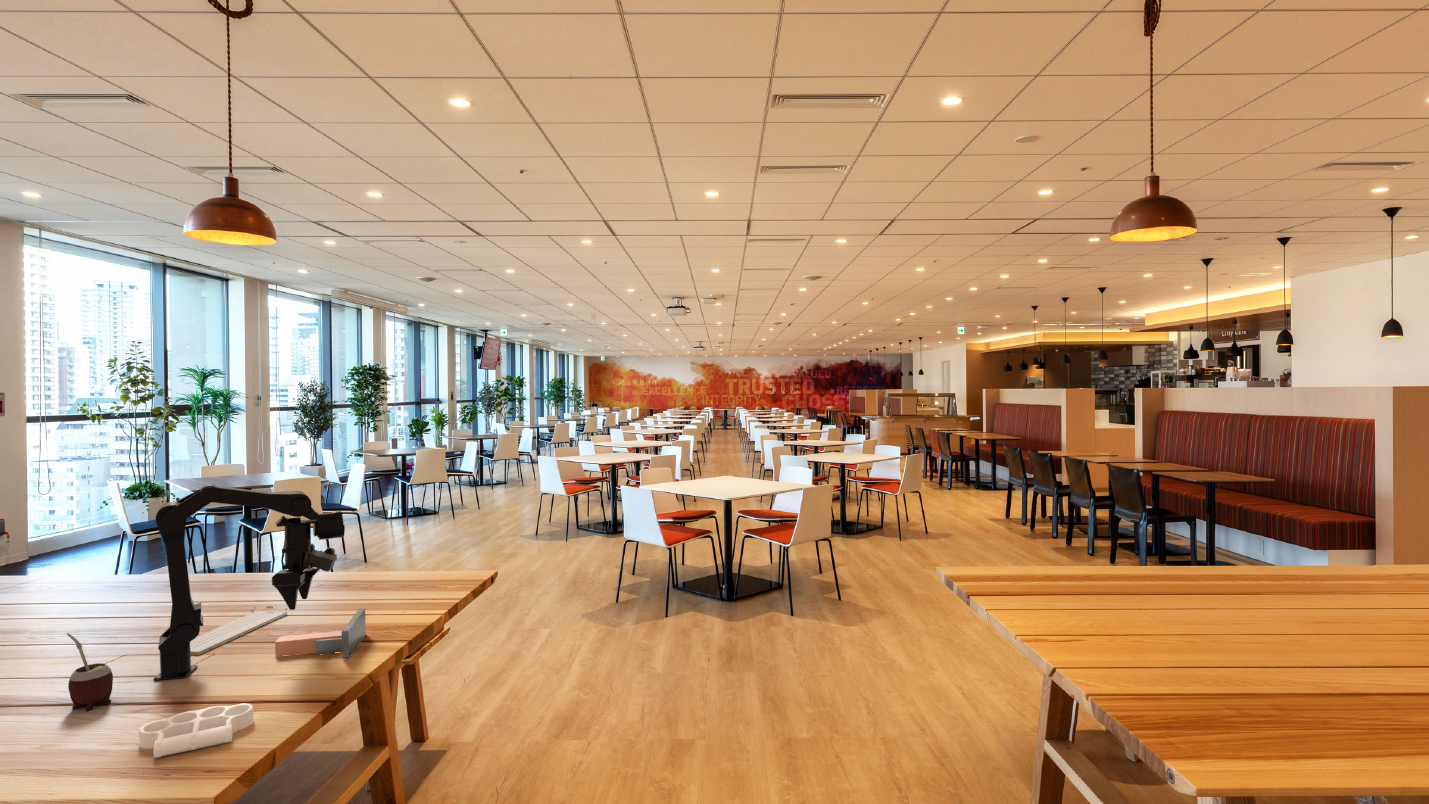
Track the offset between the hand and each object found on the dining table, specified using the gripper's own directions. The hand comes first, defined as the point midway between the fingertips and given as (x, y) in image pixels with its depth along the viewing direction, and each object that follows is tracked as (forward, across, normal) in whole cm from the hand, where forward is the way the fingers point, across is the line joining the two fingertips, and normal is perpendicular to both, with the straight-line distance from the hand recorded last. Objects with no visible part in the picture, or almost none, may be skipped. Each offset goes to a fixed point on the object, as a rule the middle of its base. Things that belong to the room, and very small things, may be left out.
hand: (298, 604), depth 183 cm
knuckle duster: (+13, -44, +4) cm, 46 cm away
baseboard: (+13, +19, +24) cm, 33 cm away
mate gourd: (+12, -24, +33) cm, 42 cm away
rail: (+12, -1, -4) cm, 12 cm away
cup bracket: (+12, -1, -10) cm, 15 cm away
